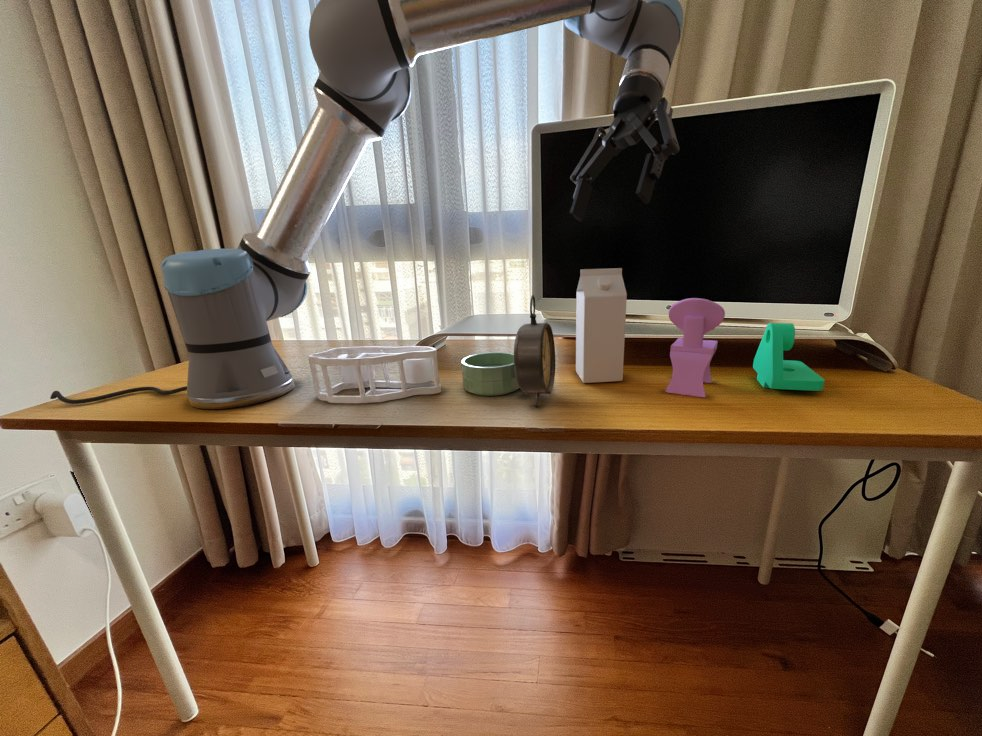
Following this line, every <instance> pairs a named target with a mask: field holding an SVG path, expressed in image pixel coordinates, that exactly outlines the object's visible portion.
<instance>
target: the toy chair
mask: <svg viewBox="0 0 982 736" xmlns="http://www.w3.org/2000/svg"><path fill="white" fill-rule="evenodd" d="M725 316H726V311H725V309H724V307H723V306H721V305H720V304H718V302H715V301H712V300H709V299H706V298H699V297H691V298H684V299H681V300H679V301H677V302H675V303H673V304H671V306H670V308H669V309H668V318H669V320H670V322H671V323H672V324H673V325H675V326H676V328H678V329H679V330H681V331H682V334H683V336H682V337H677V339H676V340H675V341H674V342H673V343H672V344H671V345H670V352H669V358H670V361H671V367H672V375H671V379H670V381H669V383H668V385H667V387H666V389H665V393H668V394H675V395H684V396H691V397H696V398H697V397H698V398H706V396H707V395H706V390H705V387H704V383H706V384H707V383H708V384H712V383H713V379H712V375H711V369H710V368H711V367H710V366H711V365H710V364H711V361H712V359H713V357H714V355H715V353H716V351H717V349H718V340H711V339H704V336H705V335H706V334H707V333H709V332H711V331H714V330H715V329H716V328H717V327H719V326H720V325H721V324H722V323H723V321H724V319H725Z"/></svg>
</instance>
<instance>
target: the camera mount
mask: <svg viewBox="0 0 982 736" xmlns="http://www.w3.org/2000/svg"><path fill="white" fill-rule="evenodd" d="M795 338H796V328H795V324H794V323H791V322H768V323H767V325H766V326H765V330H764V333H763V335H762V338H761V340H760V343H759V345H758V348H757V350H756V353H755V356H754V357H753V363H752V368H753V370H754V371H755V372H756V373H757V375H756V380H757V381H758V383H759V384H760V385H761V387H763V388H764V389H770V390H790V391H791V390H793V391H812V392H813V391H816V392H821V391H823V389H824V386H825V381H826V380H825V378H823V377H822V376H821V375H819V374H818V373H817V372H815V371H814V369H812V368H810V367H809V366H808V365H807V364H805V363H804V362H803V361H800V360H788V359H787V360H786V359H784V351H790V350H792V348H793V346H794V344H795Z"/></svg>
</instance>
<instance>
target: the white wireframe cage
mask: <svg viewBox="0 0 982 736" xmlns="http://www.w3.org/2000/svg"><path fill="white" fill-rule="evenodd" d="M335 356H337V357H335ZM308 363H309V369H310V372H311V373H310V374H311V377H312V382H313V385H314V391H315V394H316V398H317V399H318V400H319V401H326V402H327V403H329V404H369V403H384V402H387V401H392V400H399V399H404V398H408V397H411V396H412V397H413V396H417V395H418V396H419V395H435V394H439V393H441V392H442V385H441V383H440V381H441V380H440V372H439V365H438V351H437V348H435V347H433V346H425V345H405V346H402V345H401V346H379V345H378V346H377V345H363V346H362V345H360V346H349V347H348V346H343V347H342V346H341V347H333V348H330V349H328V350H324V351H320V352H316V353H312V354H311V353H310V354H308ZM388 363H397V366H398V367H397V368H398V373H399V378H400V379H399V380H400V381H398V380H397V381H396V380H391V379H390V378H391V377H390V372H389V365H388ZM317 365H319V366H320V367H321V371H322V377H323V380H324V385H325V388H324V389H322V388H321V384H320V379H319V375H318V370H317ZM377 365H381V366H382V370H383V377H384V380H375V378H376V377H377V376H376V369H375V366H377ZM328 367H338V370H339V374H340V380H341V382H339V383H337V384H335V385H333V386H332V383H331V379H330V374H329V368H328ZM365 388H369V390H368V391H366V389H365ZM379 388H380V389H379ZM385 388H386V389H385ZM347 389H348V390H351V389H358V391H359V395H336V394H338V393H339V392H341V391H343V390H347Z"/></svg>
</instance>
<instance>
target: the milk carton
mask: <svg viewBox="0 0 982 736" xmlns="http://www.w3.org/2000/svg"><path fill="white" fill-rule="evenodd" d="M579 273H580V276H579V280H578V284H577V286H576V287H577V288H576V295H575V296H576V297H575V298H576V301H575V302H576V303H575V305H576V307H575V309H576V311H575V313H576V314H575V372H576V374H577V375H578V377H579V378H580V381H582V383H583V384H592V383H608V382H622V381H623V380H624V379H623V378H624V362H625V361H624V358H625V341H626V340H625V338H626V317H627V298H628V297H627V296H628V293H627V289H626V285H625V282H624V278H623V277H624V276H623V267H617V268H616V267H615V268H612V267H611V268H584V269H583V268H582V269H580V271H579Z"/></svg>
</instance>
